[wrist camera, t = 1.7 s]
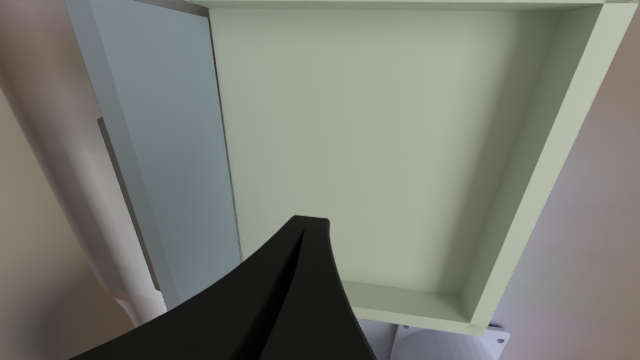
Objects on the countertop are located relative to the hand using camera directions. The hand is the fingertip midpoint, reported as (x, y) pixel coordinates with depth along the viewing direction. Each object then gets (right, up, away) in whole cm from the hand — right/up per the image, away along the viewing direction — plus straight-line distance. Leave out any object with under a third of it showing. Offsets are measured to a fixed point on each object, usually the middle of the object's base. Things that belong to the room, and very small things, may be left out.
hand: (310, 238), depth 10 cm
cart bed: (+3, +3, +6) cm, 8 cm away
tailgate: (-5, +3, +6) cm, 8 cm away
